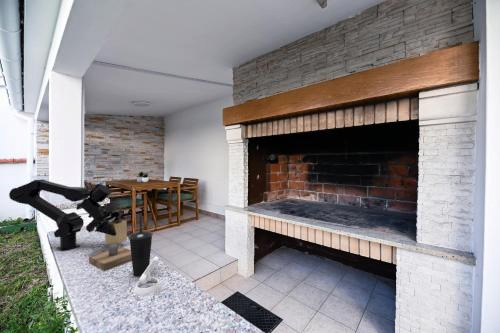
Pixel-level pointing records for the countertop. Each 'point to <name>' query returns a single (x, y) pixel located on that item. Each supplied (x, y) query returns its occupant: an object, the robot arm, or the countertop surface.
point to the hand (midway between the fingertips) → (119, 232)
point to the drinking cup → (140, 250)
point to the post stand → (111, 257)
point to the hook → (148, 280)
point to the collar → (117, 232)
